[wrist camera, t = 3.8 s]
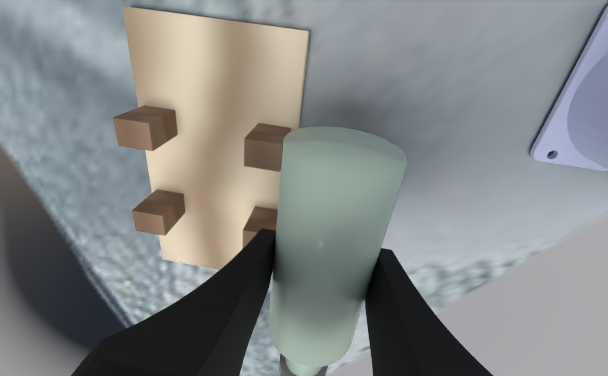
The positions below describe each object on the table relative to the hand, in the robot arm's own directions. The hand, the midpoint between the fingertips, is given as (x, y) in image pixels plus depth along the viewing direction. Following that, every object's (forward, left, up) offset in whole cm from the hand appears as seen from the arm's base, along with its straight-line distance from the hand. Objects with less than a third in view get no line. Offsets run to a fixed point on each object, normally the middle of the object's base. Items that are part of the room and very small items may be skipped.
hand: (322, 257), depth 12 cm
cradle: (+7, +1, -9) cm, 11 cm away
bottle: (0, +1, -2) cm, 2 cm away
